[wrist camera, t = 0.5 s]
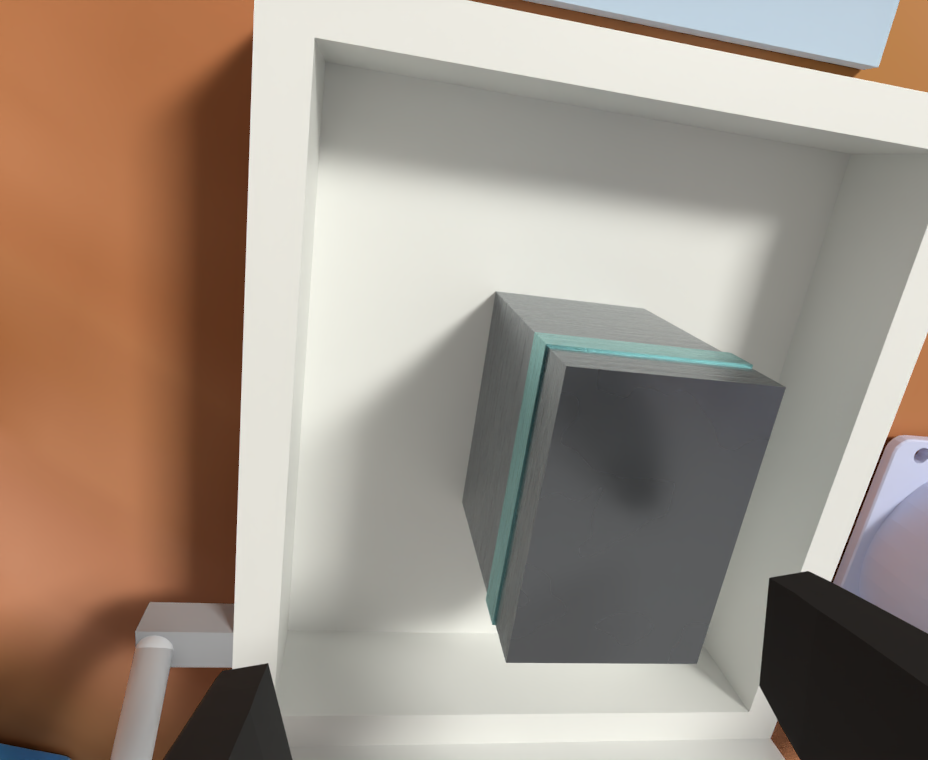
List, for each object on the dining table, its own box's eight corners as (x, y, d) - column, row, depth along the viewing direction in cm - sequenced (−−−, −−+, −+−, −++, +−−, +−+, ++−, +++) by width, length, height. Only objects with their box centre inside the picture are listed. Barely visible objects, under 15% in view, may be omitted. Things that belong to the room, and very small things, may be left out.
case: (883, 118, 16) (1322, 88, 9) (702, 673, 22) (874, 941, 14) (178, -14, 13) (-70, -237, 6) (178, 671, 19) (54, 1011, 11)
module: (646, 306, 16) (790, 384, 11) (597, 510, 18) (698, 665, 13) (494, 289, 16) (563, 363, 10) (460, 503, 18) (503, 664, 12)
